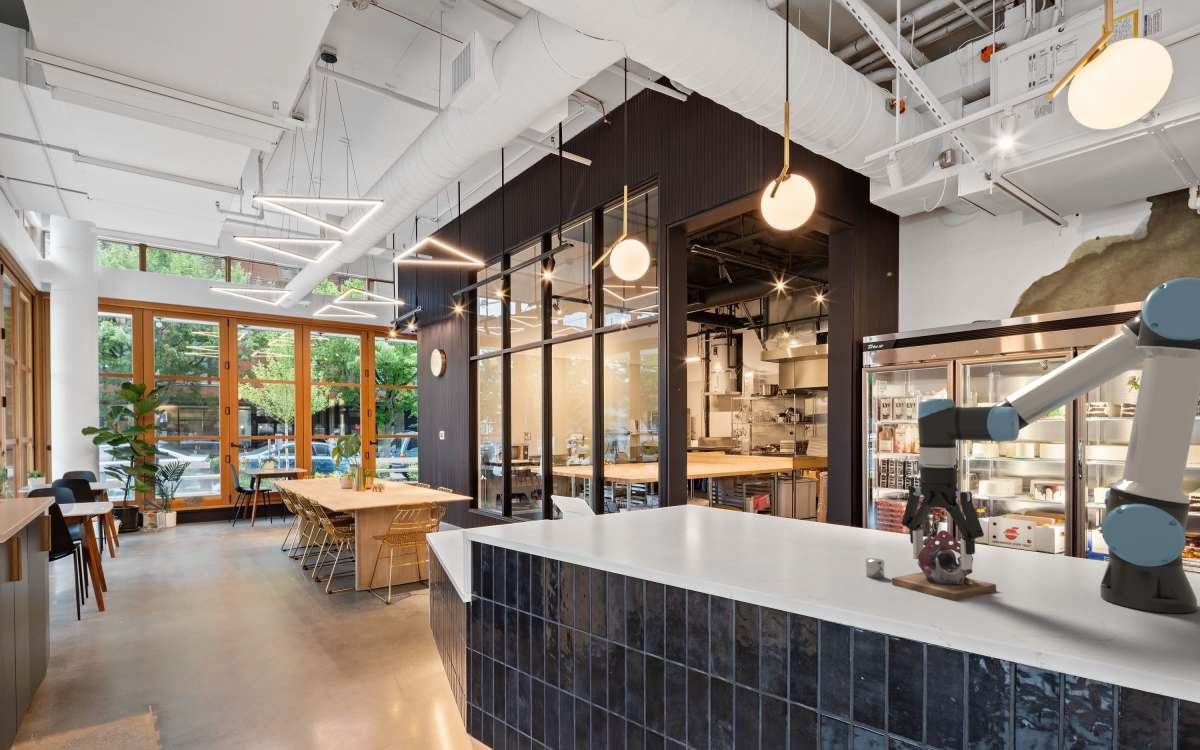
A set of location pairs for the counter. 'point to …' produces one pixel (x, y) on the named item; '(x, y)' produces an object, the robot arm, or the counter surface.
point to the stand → (943, 586)
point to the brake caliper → (942, 560)
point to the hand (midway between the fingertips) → (942, 563)
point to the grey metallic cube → (874, 568)
